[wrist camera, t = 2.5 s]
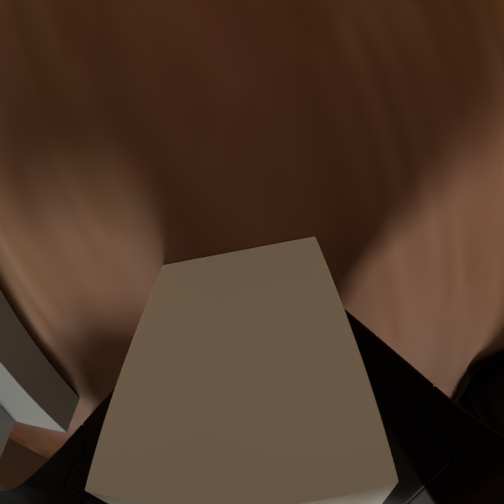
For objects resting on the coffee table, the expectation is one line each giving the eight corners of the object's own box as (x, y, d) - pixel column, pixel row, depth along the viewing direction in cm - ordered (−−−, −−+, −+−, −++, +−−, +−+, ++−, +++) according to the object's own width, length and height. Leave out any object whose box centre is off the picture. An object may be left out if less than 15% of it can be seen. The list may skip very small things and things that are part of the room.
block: (315, 236, 8) (398, 481, 2) (326, 345, 10) (363, 525, 4) (162, 265, 8) (85, 490, 3) (206, 364, 10) (189, 537, 5)
